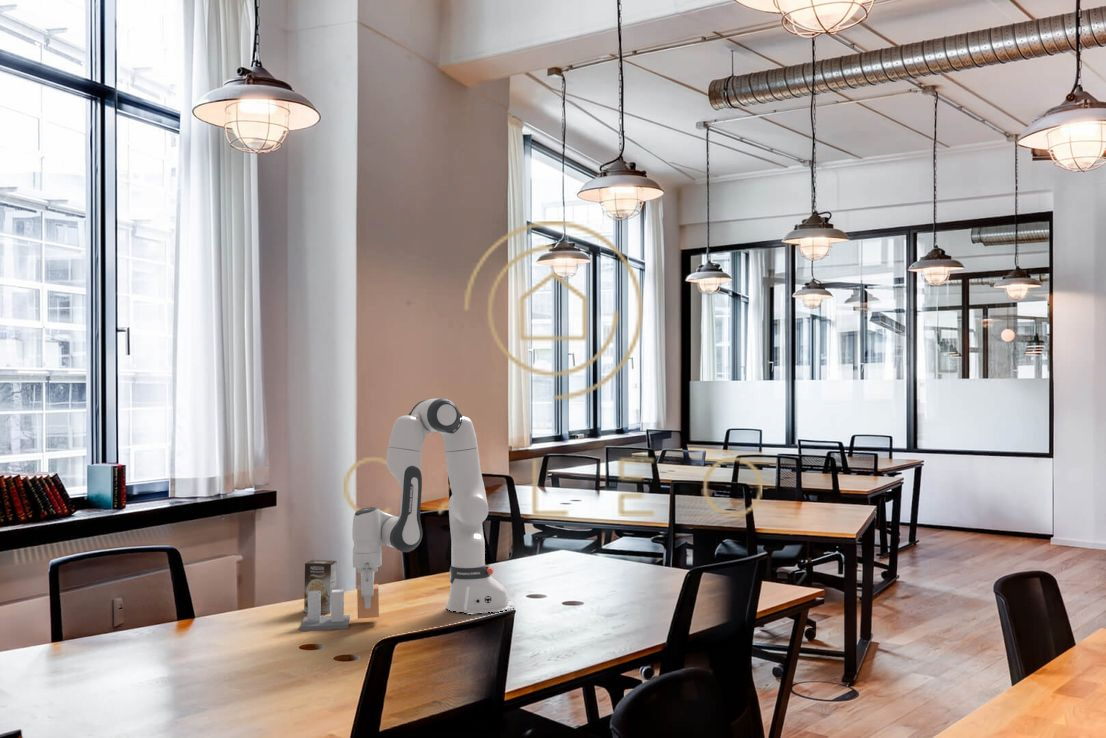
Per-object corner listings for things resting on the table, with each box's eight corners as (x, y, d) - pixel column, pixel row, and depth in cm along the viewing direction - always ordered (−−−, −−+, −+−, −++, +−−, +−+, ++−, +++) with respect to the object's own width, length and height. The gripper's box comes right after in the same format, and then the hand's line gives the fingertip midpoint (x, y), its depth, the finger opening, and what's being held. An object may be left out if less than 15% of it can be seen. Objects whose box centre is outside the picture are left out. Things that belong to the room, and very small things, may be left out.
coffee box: (302, 612, 291) (303, 563, 292) (310, 608, 298) (310, 559, 298) (330, 613, 290) (330, 563, 291) (337, 608, 297) (337, 560, 297)
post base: (349, 618, 283) (350, 586, 283) (348, 628, 271) (348, 594, 272) (304, 620, 281) (304, 588, 281) (300, 630, 269) (300, 596, 269)
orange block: (378, 612, 282) (378, 584, 282) (378, 617, 276) (378, 588, 276) (357, 613, 281) (357, 585, 281) (357, 618, 274) (357, 589, 275)
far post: (320, 623, 277) (320, 590, 278) (319, 626, 274) (320, 592, 274) (308, 624, 277) (308, 590, 277) (307, 626, 273) (307, 593, 274)
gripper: (377, 566, 269) (378, 612, 269) (377, 554, 289) (377, 597, 289) (356, 567, 268) (356, 613, 267) (357, 555, 288) (357, 598, 288)
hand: (367, 605), depth 278 cm, fingers closed on orange block, 6 cm apart
